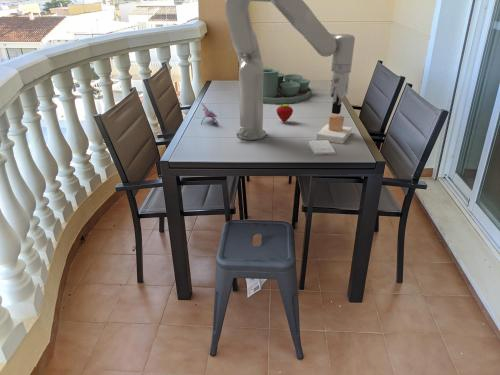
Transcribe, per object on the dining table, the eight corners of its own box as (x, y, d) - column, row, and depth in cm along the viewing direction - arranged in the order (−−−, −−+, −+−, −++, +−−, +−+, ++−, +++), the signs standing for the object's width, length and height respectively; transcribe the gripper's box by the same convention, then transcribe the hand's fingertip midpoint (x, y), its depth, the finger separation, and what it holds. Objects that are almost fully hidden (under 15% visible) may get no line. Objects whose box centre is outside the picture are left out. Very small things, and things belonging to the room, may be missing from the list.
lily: (216, 130, 181) (224, 110, 180) (191, 120, 178) (199, 100, 177) (215, 129, 192) (222, 110, 191) (191, 120, 190) (198, 101, 189)
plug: (339, 137, 168) (341, 118, 165) (327, 135, 170) (329, 116, 167) (342, 134, 172) (344, 115, 168) (330, 132, 174) (332, 114, 170)
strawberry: (292, 124, 184) (293, 103, 179) (275, 123, 185) (276, 102, 180) (292, 120, 189) (293, 99, 184) (276, 119, 190) (277, 98, 185)
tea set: (320, 102, 216) (322, 71, 209) (246, 106, 210) (246, 74, 203) (299, 85, 251) (301, 57, 243) (236, 88, 245) (235, 60, 237)
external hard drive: (328, 143, 164) (335, 155, 153) (308, 144, 164) (314, 156, 153) (328, 140, 163) (336, 151, 152) (308, 140, 163) (314, 152, 152)
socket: (342, 143, 162) (343, 137, 161) (316, 139, 167) (316, 133, 165) (351, 133, 173) (351, 127, 172) (326, 129, 178) (327, 123, 176)
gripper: (345, 72, 151) (339, 119, 159) (355, 65, 163) (349, 110, 171) (326, 70, 154) (321, 116, 162) (337, 63, 166) (332, 107, 174)
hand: (335, 113), depth 167 cm, fingers closed
